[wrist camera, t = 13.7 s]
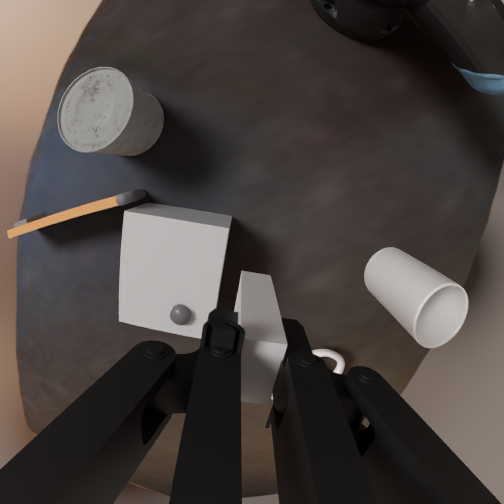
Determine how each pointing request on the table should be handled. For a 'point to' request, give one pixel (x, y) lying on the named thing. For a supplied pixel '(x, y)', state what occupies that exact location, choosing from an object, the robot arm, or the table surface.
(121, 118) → the grey mottled cylinder
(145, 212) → the knobbed white cabinet
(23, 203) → the table surface
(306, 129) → the table surface
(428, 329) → the cup
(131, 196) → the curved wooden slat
